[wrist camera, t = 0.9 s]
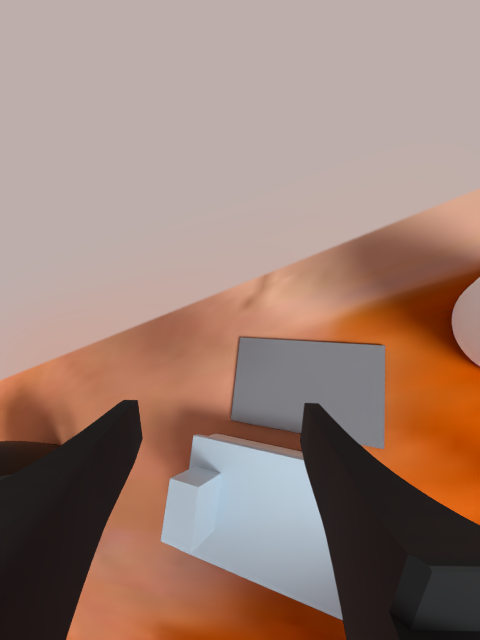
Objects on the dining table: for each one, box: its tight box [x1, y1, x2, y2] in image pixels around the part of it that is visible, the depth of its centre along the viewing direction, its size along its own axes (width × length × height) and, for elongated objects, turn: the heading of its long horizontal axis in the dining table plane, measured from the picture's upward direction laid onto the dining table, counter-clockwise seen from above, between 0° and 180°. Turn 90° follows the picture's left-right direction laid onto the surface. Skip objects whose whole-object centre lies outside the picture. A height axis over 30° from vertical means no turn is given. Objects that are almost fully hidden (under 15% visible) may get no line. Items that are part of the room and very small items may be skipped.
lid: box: [161, 434, 343, 620], centre depth 19 cm, size 9×13×4 cm
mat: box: [231, 337, 385, 449], centre depth 25 cm, size 8×13×1 cm, turn 84°
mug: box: [0, 441, 60, 481], centre depth 29 cm, size 8×12×10 cm
